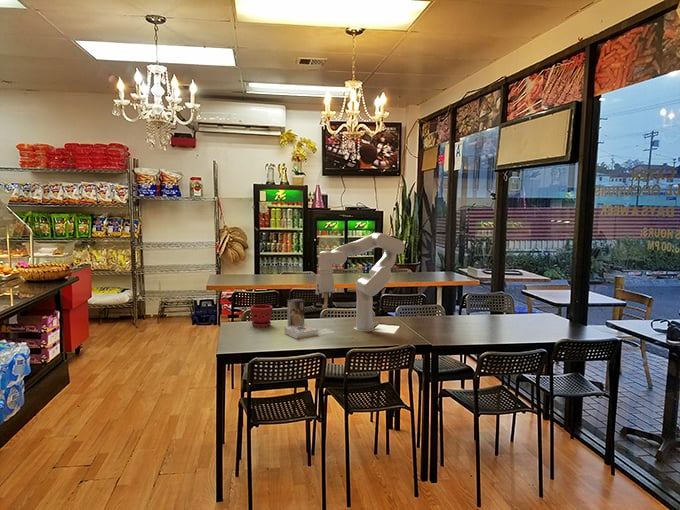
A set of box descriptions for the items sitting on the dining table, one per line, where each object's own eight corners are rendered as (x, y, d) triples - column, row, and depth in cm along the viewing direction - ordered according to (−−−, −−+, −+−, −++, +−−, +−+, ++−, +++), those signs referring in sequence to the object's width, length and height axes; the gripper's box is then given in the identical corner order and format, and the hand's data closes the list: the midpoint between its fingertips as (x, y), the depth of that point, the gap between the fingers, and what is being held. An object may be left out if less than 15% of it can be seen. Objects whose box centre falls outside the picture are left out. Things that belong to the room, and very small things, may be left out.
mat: (326, 329, 281) (326, 328, 281) (336, 332, 273) (336, 332, 273) (312, 331, 275) (312, 330, 275) (321, 335, 267) (321, 334, 267)
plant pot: (274, 327, 283) (274, 307, 282) (252, 328, 278) (253, 309, 277) (269, 321, 295) (269, 303, 294) (248, 323, 290) (248, 304, 289)
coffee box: (301, 324, 292) (301, 298, 290) (304, 326, 286) (304, 300, 284) (287, 325, 288) (287, 299, 287) (289, 327, 282) (290, 301, 281)
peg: (325, 307, 274) (325, 291, 273) (328, 308, 271) (328, 292, 270) (321, 308, 272) (321, 292, 271) (324, 309, 270) (324, 293, 269)
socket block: (305, 329, 278) (305, 324, 278) (317, 335, 267) (318, 329, 266) (284, 333, 270) (284, 327, 270) (296, 339, 259) (296, 333, 258)
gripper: (333, 270, 277) (332, 301, 279) (310, 272, 268) (309, 304, 270) (340, 272, 271) (340, 303, 273) (317, 274, 262) (316, 306, 263)
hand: (324, 303), depth 271 cm, fingers closed on peg, 3 cm apart
